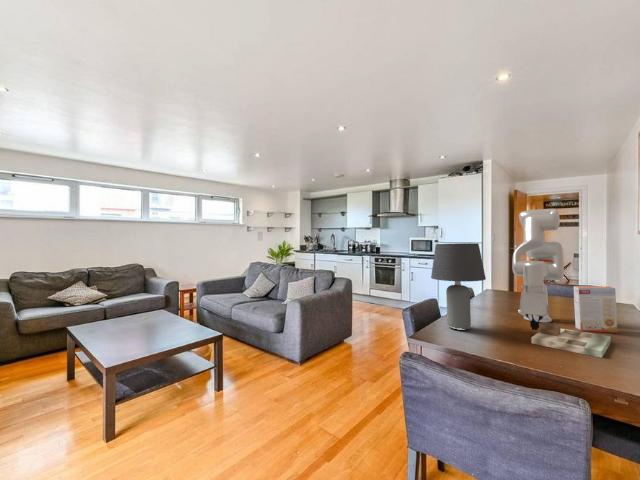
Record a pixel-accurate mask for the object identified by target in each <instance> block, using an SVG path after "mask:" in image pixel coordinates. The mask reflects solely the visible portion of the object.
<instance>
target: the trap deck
mask: <svg viewBox="0 0 640 480" xmlns="http://www.w3.org/2000/svg"><path fill="white" fill-rule="evenodd" d="M560 333H561V334H559V335H558V336H553V335H547V334H542V333H540V331H538V332H536V333H535V334H534V335H533V336H531V339H530V340H531V344H533V345H537V346H543V347H547V348H552V349H557V350H563V351H565V352H571V353H576V354H580V355H581V354H582V355H586V356H590V355H591V357H596V358H602V359H603V358H604V355H605V353H606V351H607V350H608V348H609V347H610V345H611V343H612V337H611V336H609V335H603V334H598V333H597V334H596V333H592V332H587V331H580V330H579V331H578V330H573V329H566V328H561V327H560Z"/></svg>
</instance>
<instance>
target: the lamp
mask: <svg viewBox="0 0 640 480" xmlns="http://www.w3.org/2000/svg"><path fill="white" fill-rule="evenodd" d="M434 246H435V247H434V253H433V255H434V256H433V262H432V269H431V276H430V277H431V279H432V280H437V281H444V282H454V284H451V285H449V286H447V288H446V291H445V292H446V294H445V295H446V316H447V317H446V323H447V326H448V325H449V326H452V327H455V328H462V329H468V328H469V329H471V325H472V321H471V319H472V318H471V316H472V315H471V295H470V294H471V291H470V288H469V287H468V286H466V285H463V284H462V283H461V282H480V281H486V279H487V278H486V273H485V269H484V263H483V259H482V258H483V257H482V254H481V248H480V244H479V243H478V242H477V243H476V242H475V243H473V242H472V243H471V242H468V243H467V242H465V243H460V242H459V243H436V244H435V245H434ZM449 326H448V327H449ZM469 329H468V330H469Z"/></svg>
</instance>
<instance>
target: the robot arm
mask: <svg viewBox="0 0 640 480" xmlns="http://www.w3.org/2000/svg"><path fill="white" fill-rule="evenodd" d="M518 220H519V223H520V225H521V228H522V229H523V242H522V243H521V244H519V245H517V247H516V249H515V250H514V252H513V254H512V266H511V267H512V273H513V274H514V275H515V276H519V277H523V278H522V279H523V284H522V285H520V287H519V288H520V289H521V290H523V291H521V294H520V301H519V309H518V311H517V312H518V313H519V314H520V315H522V316H523V319H524V320H526V321H529V323H530V324H529V325H530V328H531V330H532V331H533V330H534V331H537V330H538V329H540V323H543V322H548V323H552V322H553V318H551V317H550V315H549V312H550V310H549V303H548V302H549V296H548V295H549V293H548V291H549V290H548V287H547V285H546V284H545V283H544V280H546V281H561V280H563V279H564V277H565V265H564V263H565V262H564V250H563V249H564V248H563V246H562V244H561V243H560V242H557V241H546V240H545V238H546V237H545V231H557V230H559V227H560V223H561V220H560V212H559V210H558V209H556V208H544V209H543V208H542V209H530V210H524V211H520V213H519V214H518ZM523 254H526V256H527V258H528V259H531V260H520V258H521V256H522V255H523ZM544 260H550V261H544Z"/></svg>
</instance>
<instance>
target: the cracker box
mask: <svg viewBox="0 0 640 480" xmlns="http://www.w3.org/2000/svg"><path fill="white" fill-rule="evenodd" d="M573 303H574V319H575V320H574V322H575V329H577V330H579V331H580V332H591V333H592V332H595V333H596V332H597V333H598V332H599V333H609V334H610V333H613V334H614V333H615V334H617V333H618V319H617V318H618V316H617V315H618V314H617V296H616V288H615V287H611V286H597V285H596V286H593V285H591V286H590V285H589V286H588V285H574V286H573Z"/></svg>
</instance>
